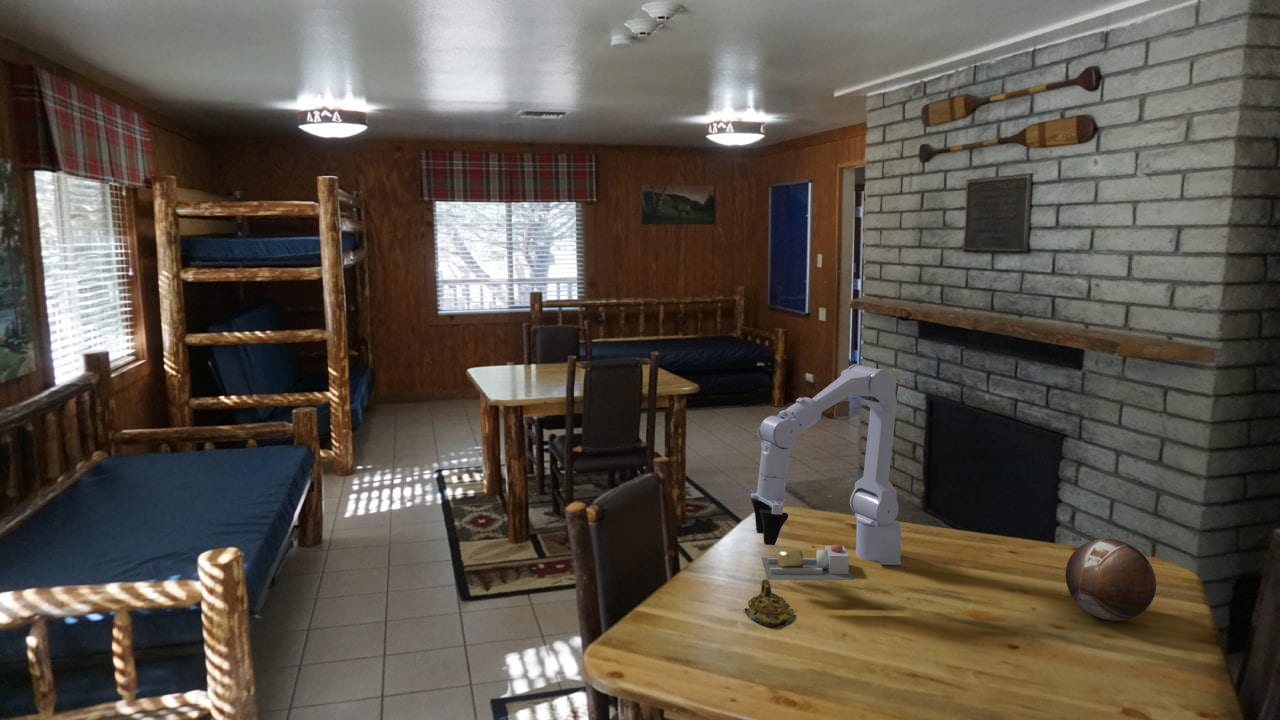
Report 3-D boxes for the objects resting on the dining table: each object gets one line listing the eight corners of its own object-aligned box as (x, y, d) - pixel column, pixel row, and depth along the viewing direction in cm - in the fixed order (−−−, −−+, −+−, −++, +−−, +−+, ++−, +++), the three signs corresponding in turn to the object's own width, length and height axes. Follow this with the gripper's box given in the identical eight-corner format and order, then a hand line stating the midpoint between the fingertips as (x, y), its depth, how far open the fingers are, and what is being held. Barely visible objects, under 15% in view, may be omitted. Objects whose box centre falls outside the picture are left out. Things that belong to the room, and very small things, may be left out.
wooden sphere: (1051, 617, 162) (1056, 542, 159) (1078, 593, 172) (1083, 522, 170) (1139, 643, 151) (1146, 563, 149) (1162, 616, 162) (1169, 540, 159)
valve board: (842, 562, 189) (843, 536, 188) (853, 584, 178) (854, 556, 177) (761, 561, 190) (761, 535, 189) (767, 583, 178) (767, 556, 177)
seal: (799, 635, 159) (784, 599, 173) (802, 611, 158) (787, 578, 173) (750, 630, 158) (739, 595, 173) (753, 607, 157) (742, 573, 172)
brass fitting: (800, 562, 186) (800, 546, 184) (802, 573, 182) (803, 556, 181) (777, 562, 186) (777, 546, 185) (779, 572, 182) (779, 556, 181)
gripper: (747, 465, 182) (740, 526, 183) (761, 481, 168) (753, 548, 169) (779, 467, 183) (772, 529, 184) (796, 484, 168) (788, 551, 170)
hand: (765, 538), depth 177 cm, fingers open, 7 cm apart
